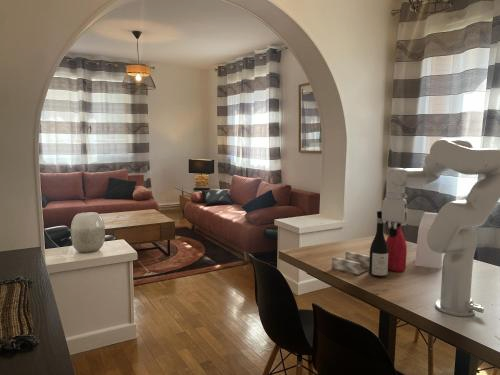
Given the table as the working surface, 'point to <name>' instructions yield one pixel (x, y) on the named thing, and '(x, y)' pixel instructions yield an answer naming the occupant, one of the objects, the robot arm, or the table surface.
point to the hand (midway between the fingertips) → (393, 236)
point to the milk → (426, 244)
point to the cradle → (351, 264)
